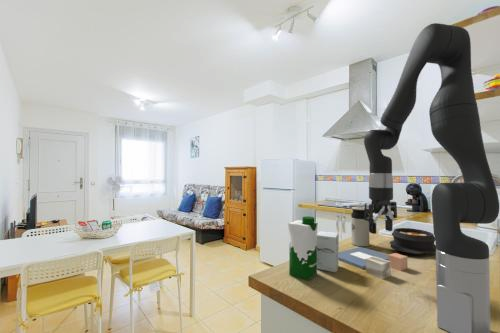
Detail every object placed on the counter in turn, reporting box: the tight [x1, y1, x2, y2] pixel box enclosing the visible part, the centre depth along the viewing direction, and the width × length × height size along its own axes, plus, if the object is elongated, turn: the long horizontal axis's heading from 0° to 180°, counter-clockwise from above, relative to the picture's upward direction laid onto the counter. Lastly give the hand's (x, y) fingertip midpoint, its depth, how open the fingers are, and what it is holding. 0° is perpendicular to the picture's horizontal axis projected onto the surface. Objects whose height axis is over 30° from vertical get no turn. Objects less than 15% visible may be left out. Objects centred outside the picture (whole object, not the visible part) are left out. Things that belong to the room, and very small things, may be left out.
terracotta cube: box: [387, 252, 409, 272], centre depth 90 cm, size 4×4×4 cm
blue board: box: [338, 246, 389, 270], centre depth 99 cm, size 20×15×1 cm
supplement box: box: [317, 230, 340, 273], centre depth 90 cm, size 7×7×13 cm
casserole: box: [389, 227, 436, 255], centre depth 110 cm, size 25×19×8 cm
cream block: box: [365, 256, 392, 280], centre depth 84 cm, size 5×6×5 cm
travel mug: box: [350, 206, 370, 248], centre depth 118 cm, size 8×8×18 cm
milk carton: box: [287, 216, 319, 281], centre depth 84 cm, size 9×9×20 cm
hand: (381, 231), depth 85 cm, fingers open, 8 cm apart
